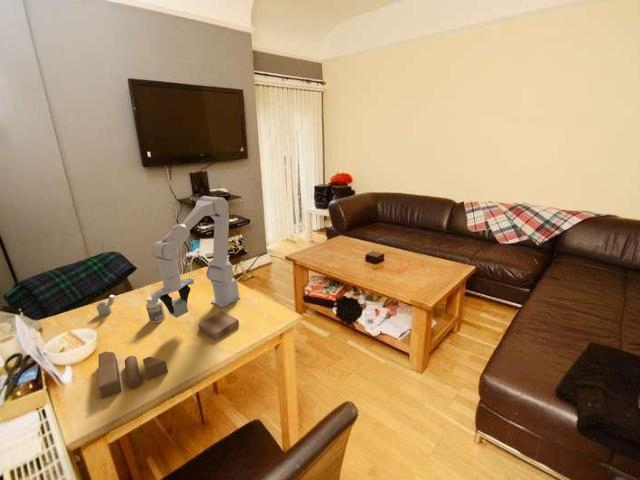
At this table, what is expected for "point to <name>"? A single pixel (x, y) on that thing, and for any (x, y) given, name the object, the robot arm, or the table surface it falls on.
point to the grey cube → (179, 307)
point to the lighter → (105, 306)
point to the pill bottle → (155, 310)
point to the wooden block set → (111, 376)
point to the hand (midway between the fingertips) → (178, 308)
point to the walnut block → (218, 325)
